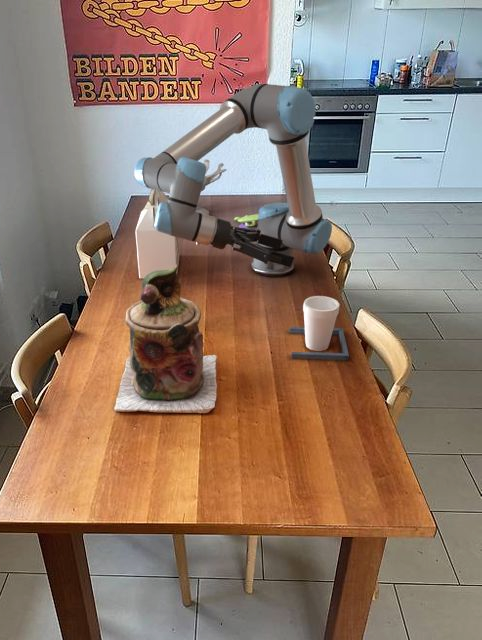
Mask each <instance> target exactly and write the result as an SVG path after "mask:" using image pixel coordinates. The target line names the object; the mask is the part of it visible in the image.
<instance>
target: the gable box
mask: <svg viewBox="0 0 482 640" xmlns="http://www.w3.org/2000/svg"><path fill="white" fill-rule="evenodd" d="M149 193H150V194H149V197H148V200H147V202H146V203H145V205H144V208H143V209H142V210H141V211H140V214H139V217H138V221H137V225H136V228H135V242H136V243H135V244H136V253H137V267H138V277H139V279H141V280H143V279H144V277H145V276H146V275H147V274H149V273H151V272H153V271H158V270H171V269H173V268H174V267H175V265H178V267H177V272H176V273H177V274H178V271H179V261H180V238H178V237H174V236H170V235H168V234H165V233H162V232H159V231H157V230H156V229H155V227H154V222H155V216H156V212H157V210H158V206H159V204H160V203H161V202H164V203H165V202H168V199H169V197H168V196H167V195H166V193H165V192H162V191H159V190H155V189H151V190H150V192H149Z"/></svg>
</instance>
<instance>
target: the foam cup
mask: <svg viewBox="0 0 482 640" xmlns="http://www.w3.org/2000/svg"><path fill="white" fill-rule="evenodd" d="M302 305H303V306H302V312H303V320H304V321H303V323H304V324H303V325H304V327H305V334H304V336H305V337H304V343H305V346H306V348H307V349H308V350H310V351H314V352H322V351H327V349H328V348H329V346H330V343H331V338H332V336H333V335H332V332H333V328H335V324H336V320H337V317H338V315H339V312H340V303H339V301H338V300H337V299H335V298H333V297H329V296H325V295H313V296H309V297H307V298H305V300H304V301H303V304H302Z"/></svg>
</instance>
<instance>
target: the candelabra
mask: <svg viewBox="0 0 482 640" xmlns="http://www.w3.org/2000/svg"><path fill="white" fill-rule="evenodd" d="M203 163H204V164H205V165H206V173H205V178H204V183H203V186H202V190H201V192H203V191H204V190H205V189H206V186H208V185H210V184H212V183H214V182H216V181H218V180H219V179H221V177H222V174H223V173H224V172H226V171H227V168H223V167H224V166H225V164H224V163H223V162H221V163H219V164H218V165H217V169H216V170H215V171H214V172H213V173H211V174H207V173H208V171H209V169H210V160H209V159H207V158H206V159H204V160H203ZM222 168H223V169H222ZM190 207H191V206H190ZM196 212H198V213H202V214H206V215H209V214H210V211H209V210H208V209H207V208H204V207H201V206H197V207H196Z"/></svg>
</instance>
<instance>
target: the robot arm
mask: <svg viewBox="0 0 482 640" xmlns="http://www.w3.org/2000/svg"><path fill="white" fill-rule="evenodd" d="M316 112H317V111H316V103H315V100H314V98H313V96H312V94H311V93H310V91H308V90H307V89H305V88H303V87H298V86H296V85H281V84H271V83H270V84H269V83H257V84H253V85H250V86H248V87H246V88H243V89H241V90H240V91H238V92H236V93H235V94H232V96H230V97H229V98H227V99H226V100H224V101H223V102H222V103H221V104H220V105H219V110H217V111H215V112H214V113H213V114H212V115H210V116H209V117H207V118H206V119H205V120H204V121H202V122H201V123H199V124H198V125H197V126H196V127H194V128H193V129H191V130H190V131H189V132H187V133H186V134H185V135H183V136H181V137H180V138H179V139H178V140H176V141H175V142H173V143H172V144H171V145H170V146H168V147H167V148H166V149H164V150H163V151H161V152H160V153H158V154H157V155H156V156H155V157H151V156H149V157H142V158H140V159H139V160H138V161H137V162H136V164H135V166H134V177H135V180H136V182H137V183H138V184H139V185H141V186H143V187H145V188H147V189H151V190H152V189H154V190H159V191H162V192H163V193H165V194H169V195H168V202H165V203H164V202H161V203H160V204H159V206H158V210H157V212H156V216H155V222H154V227H155V229H156V230H157V231H159V232H162V233H165V234H168V235H170V236H174V237H178V238H179V239H182V240H186V241H190V242H192V243H193V242H194V243H195V244H196V245H197V246H199V245H200V244H201V245H205V246H208V245H209V246H210V247H211V248H214V249H218V250H224V249H225V248H226V246H227V245H230V246H231V250H232V251H234V252H238V253H240V254H243V255H245V256H248V257H250V258H252V260H251V263H250V264H251V267H250V268H251V271H252V272H253V273H254V274H257V275H259V276H262V277H268V278H278V277H279V278H280V277H285V276H288V275H290V274H292V273H293V272H294V270H295V262H294V260H295V256H293V255H292V251H291V249H293V250H297V251H300V252H302V253H305V254H310V255H317V254H319V253H321V252H322V251H323V250H324V249H325V247H326V246H327V245H328V243H329V241H330V239H331V236H332V231H333V225H332V222H331V221H330V220H328V219H327V218H323V211H322V208H321V207H320V206H319V205H318V204H317V203H316V197H315V191H314V190H315V189H314V185H313V179H312V173H311V166H310V160H309V152H308V147H307V141H306V138H307V137H308V136H309V134H310V131H311V129H312V128H313V125H314V123H315V119H314V117H316ZM253 128H258V129H262V130H266V131H267V134H268V140H269V142H270V144H271V145H273V146H275V147H276V153H277V157H278V163H279V167H280V172H281V179H282V183H283V188H284V192H285V198H286V202H273V203H267V204H265V205H262V206H261V207H260V208H259V209H258V213H257V214H258V222H257V229H254V228H249V229H247V228H240V227H239V226H235V225H232V223H231V222H230V221H229V220H226V219H222V218H216V216H212V215H209V214H208V215H206V214H202V213H198V212H196V207H198V203H199V200H200V196H201V193H202V191H201V190H202V186H203V183H204V178H205V176H206V174H207V172H206V165H205V164H204V162H201V161H200V160H201V159H203V157H205V156H206V155H208V154H209V153H210V152H212V151H213V150H214V149H215V148H217V147H219V146H220V145H221V144H222V143H224V142H225V141H226V140H227V139H230V137H231V136H233V135H234V134H236V135H238V134H242V133H243V132H244V131H245V130H248V129H253ZM205 173H206V174H205ZM190 206H191V207H190Z"/></svg>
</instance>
